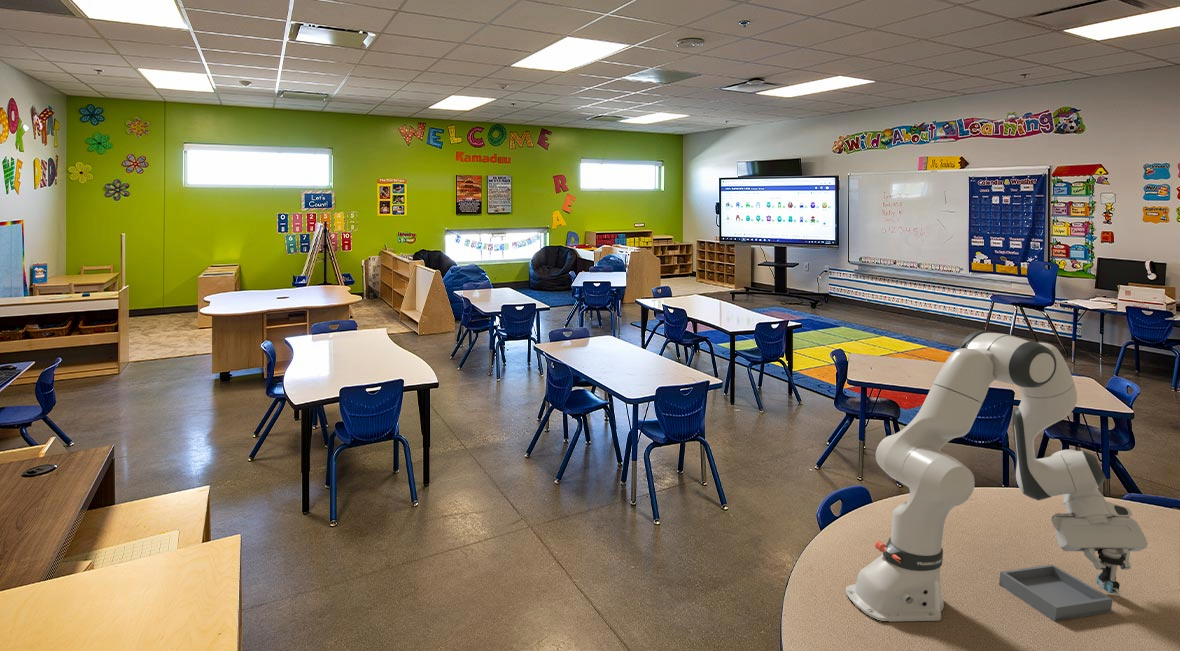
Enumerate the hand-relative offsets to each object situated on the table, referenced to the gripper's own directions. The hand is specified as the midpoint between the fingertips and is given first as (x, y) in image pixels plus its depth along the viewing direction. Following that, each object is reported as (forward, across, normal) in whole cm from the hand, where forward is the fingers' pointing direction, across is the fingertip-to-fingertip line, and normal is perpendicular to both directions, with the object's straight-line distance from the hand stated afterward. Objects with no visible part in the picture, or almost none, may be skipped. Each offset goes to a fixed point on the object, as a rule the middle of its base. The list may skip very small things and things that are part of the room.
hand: (1113, 569), depth 163 cm
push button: (+4, 0, +5) cm, 6 cm away
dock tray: (+5, -14, +6) cm, 16 cm away
